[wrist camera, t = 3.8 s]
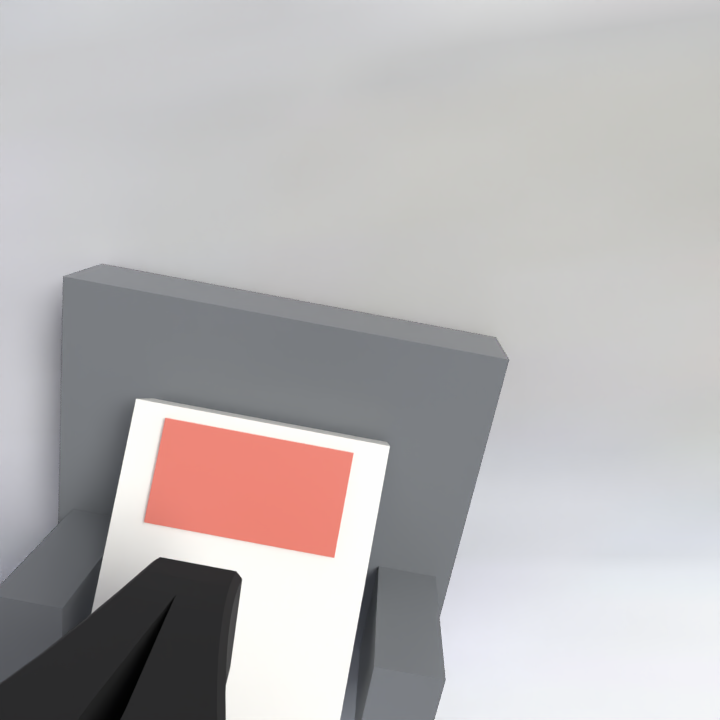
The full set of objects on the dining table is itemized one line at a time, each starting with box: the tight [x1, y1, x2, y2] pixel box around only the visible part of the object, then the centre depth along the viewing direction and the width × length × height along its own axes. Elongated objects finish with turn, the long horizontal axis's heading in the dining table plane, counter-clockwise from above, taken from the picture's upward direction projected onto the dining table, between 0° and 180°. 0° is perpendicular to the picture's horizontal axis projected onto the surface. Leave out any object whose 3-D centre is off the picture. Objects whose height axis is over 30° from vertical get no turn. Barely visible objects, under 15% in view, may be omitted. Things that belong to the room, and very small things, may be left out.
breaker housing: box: [0, 264, 509, 720], centre depth 16 cm, size 16×11×6 cm
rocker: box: [91, 398, 390, 720], centre depth 14 cm, size 12×6×1 cm, turn 171°
